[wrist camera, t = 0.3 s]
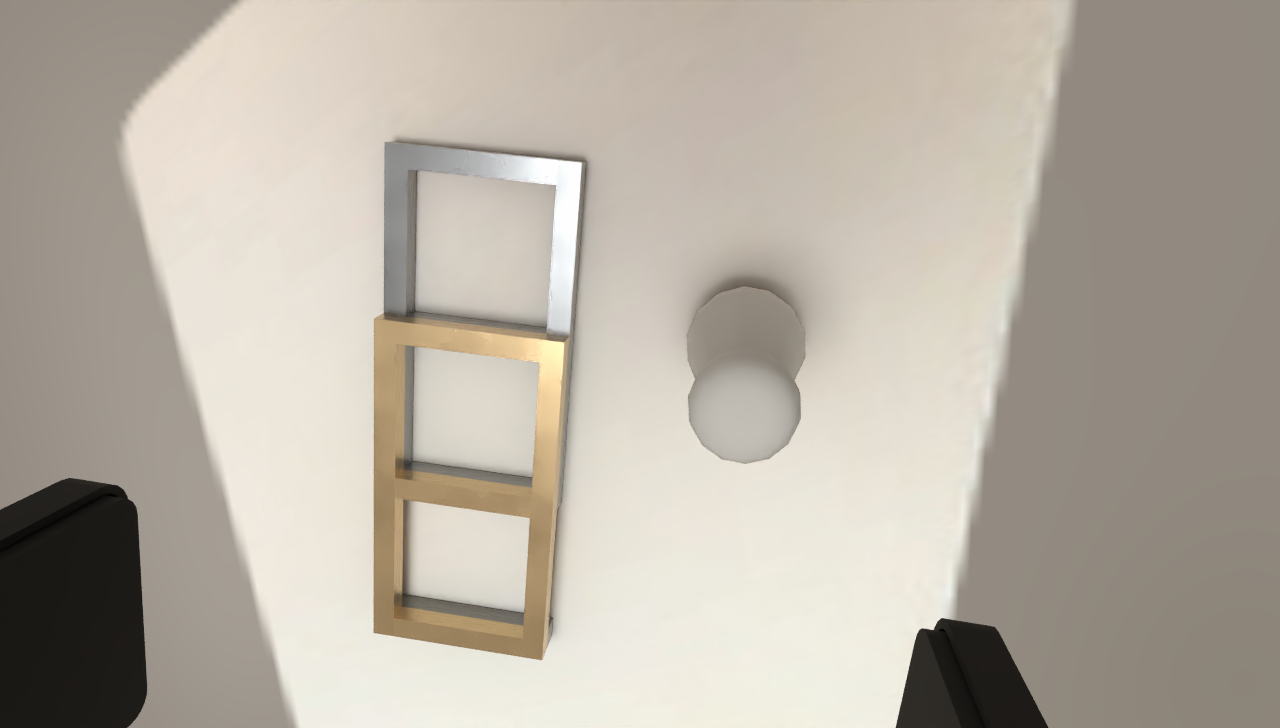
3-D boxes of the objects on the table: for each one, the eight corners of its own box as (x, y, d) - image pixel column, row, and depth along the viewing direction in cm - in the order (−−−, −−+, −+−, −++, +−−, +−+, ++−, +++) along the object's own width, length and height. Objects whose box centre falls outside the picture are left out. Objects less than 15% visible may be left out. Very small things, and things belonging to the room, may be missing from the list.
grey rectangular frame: (394, 141, 43) (384, 142, 41) (586, 161, 42) (581, 162, 40) (391, 477, 48) (383, 485, 47) (561, 501, 47) (556, 511, 46)
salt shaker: (802, 386, 43) (823, 491, 31) (693, 388, 44) (670, 491, 32) (801, 275, 42) (822, 339, 29) (687, 280, 43) (662, 344, 30)
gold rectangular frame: (393, 308, 45) (373, 318, 43) (574, 331, 44) (564, 342, 42) (390, 609, 51) (373, 632, 48) (551, 635, 50) (542, 660, 47)
